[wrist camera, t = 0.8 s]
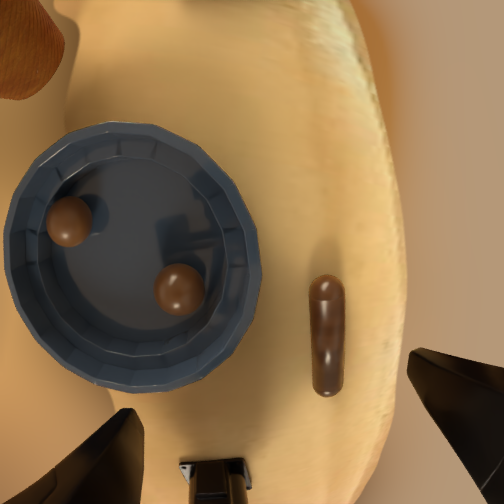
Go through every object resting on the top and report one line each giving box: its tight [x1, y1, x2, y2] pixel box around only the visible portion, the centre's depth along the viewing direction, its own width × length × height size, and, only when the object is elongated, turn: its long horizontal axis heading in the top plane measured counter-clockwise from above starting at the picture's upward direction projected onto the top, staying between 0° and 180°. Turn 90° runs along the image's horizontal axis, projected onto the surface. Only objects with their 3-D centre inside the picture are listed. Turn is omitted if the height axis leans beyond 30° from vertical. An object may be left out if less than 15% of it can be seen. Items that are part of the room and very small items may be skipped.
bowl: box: [3, 121, 262, 394], centre depth 16 cm, size 15×15×4 cm
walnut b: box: [153, 263, 205, 316], centre depth 17 cm, size 3×3×3 cm
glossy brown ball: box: [46, 196, 93, 247], centre depth 15 cm, size 3×3×3 cm
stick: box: [309, 275, 345, 397], centre depth 20 cm, size 10×2×2 cm, turn 7°
